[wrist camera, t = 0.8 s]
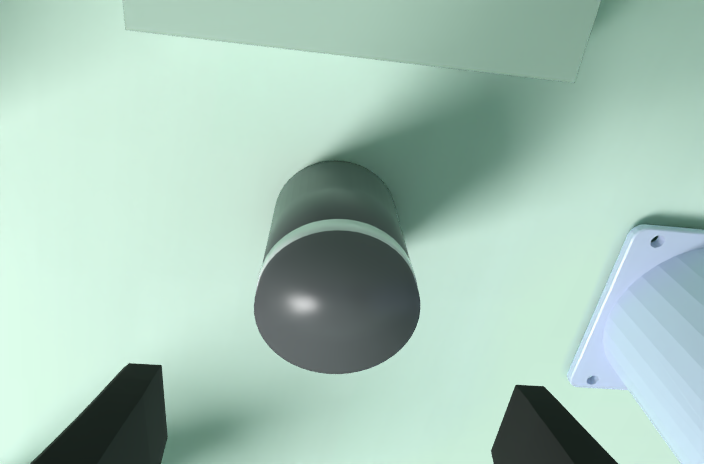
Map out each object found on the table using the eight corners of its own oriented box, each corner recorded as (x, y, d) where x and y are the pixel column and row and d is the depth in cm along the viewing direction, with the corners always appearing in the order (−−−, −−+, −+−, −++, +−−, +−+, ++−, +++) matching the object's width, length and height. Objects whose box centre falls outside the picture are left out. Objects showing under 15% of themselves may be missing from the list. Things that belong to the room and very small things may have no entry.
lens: (405, 166, 17) (436, 246, 12) (385, 273, 19) (405, 378, 14) (276, 154, 17) (255, 231, 12) (271, 264, 19) (251, 369, 14)
